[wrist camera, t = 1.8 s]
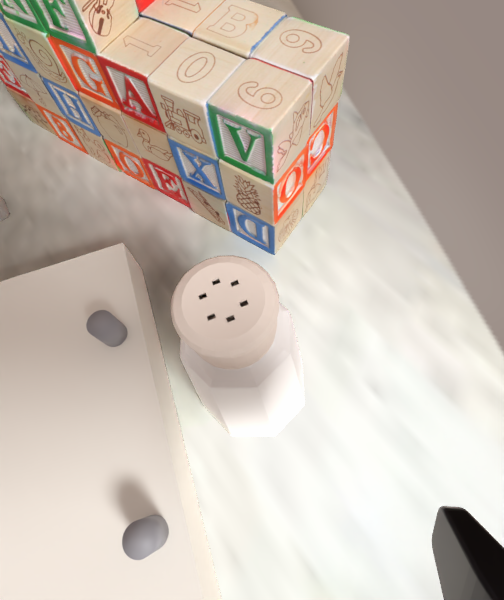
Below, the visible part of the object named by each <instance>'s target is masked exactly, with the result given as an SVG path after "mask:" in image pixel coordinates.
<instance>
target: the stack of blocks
mask: <svg viewBox="0 0 504 600" xmlns="http://www.w3.org/2000/svg"><path fill="white" fill-rule="evenodd" d="M348 45H349V35H347V34H345V33H342V32H338V31H335V30H331V29H329V28H326V27H323V26H320V25H316V24H313V23H310V22H308V21H305V20H302V19H299V18H296V17H287V15H286V13H284V12H282V11H279V10H276V9H273V8H270V7H267V6H264V5H261V4H258V3H255V2H252V1H249V0H0V79H1V80H2V81H3V82H4V84H5V85H6V88H7V90H8V92H9V93H10V94H11V95H12V97H13V98H14V99H15V101H16V102H17V103H18V104H19V106H20V107H21V108H22V110H23V111H24V112H25V113H26V115H27V116H28V117H29V119H30V120H31V121H32V122H33V123H35V124H37V125H39V126H41V127H42V128H44V129H46V130H48V131H49V132H51V133H53V134H55V135H56V136H58V137H59V138H60V139H61V140H63V141H65V142H67V143H69V144H70V145H72V146H74V147H76V148H78V149H79V150H81V151H83V152H85V153H86V154H89V155H90V156H92V157H94V158H95V159H97V160H98V161H100V162H102V163H104V164H106V165H108V166H109V167H111V168H113V169H115V170H117V171H119V172H124V173H126V174H127V175H129V176H131V177H133V178H135V179H137V180H138V181H140V182H142V183H144V184H146V185H148V186H149V187H151V188H153V189H157V190H159V191H160V192H162V193H164V194H166V195H167V196H169V197H171V198H173V199H174V200H176V201H179V202H180V203H182V204H184V205H186V206H187V207H189V208H192V210H193V211H194V212H195V213H197V214H199V215H201V216H202V217H204V218H206V219H208V220H210V221H212V222H213V223H215V224H217V225H219V226H221V227H222V228H224V229H226V230H228V231H230V232H233V233H235V234H236V235H238V236H239V237H241V238H243V239H245V240H247V241H248V242H250V243H252V244H254V245H256V246H258V247H260V248H261V249H263V250H265V251H267V252H269V253H271V254H273V255H275V254H276V253H277V252H278V250H279V249H280V247H281V246H282V245H283V243H284V242H285V241H286V239H287V238H288V236H289V235H290V234H291V232H292V231H293V230H294V228H295V227H296V226H297V224H298V223H299V221H300V220H301V218H302V217H304V215H305V214H306V213H307V211H308V210H309V209H310V207H311V206H312V204H313V203H314V202H315V200H316V199H317V197H318V196H319V194H320V193H321V192H322V190H323V188H324V187H325V185H326V182H327V178H328V172H329V163H330V155H331V149H332V146H333V140H334V132H335V125H336V118H337V107H338V101H339V99H340V96H341V92H342V85H343V78H344V72H345V65H346V59H347V52H348Z"/></svg>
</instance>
